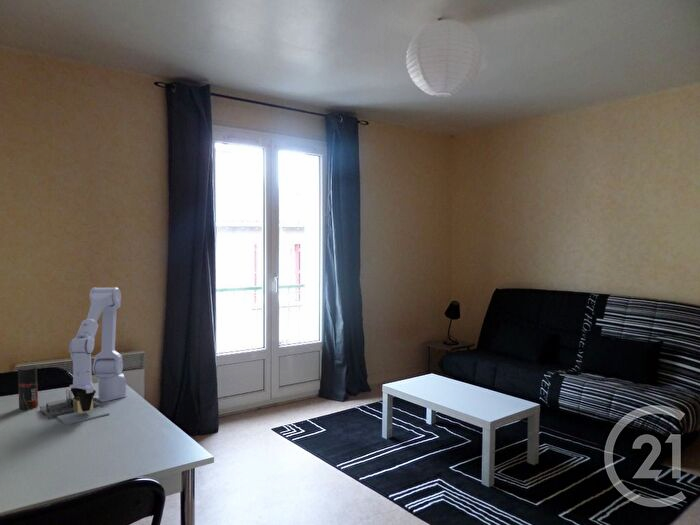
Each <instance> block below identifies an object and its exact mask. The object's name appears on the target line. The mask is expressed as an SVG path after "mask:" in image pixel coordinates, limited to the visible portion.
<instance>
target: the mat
mask: <svg viewBox="0 0 700 525" xmlns="http://www.w3.org/2000/svg"><path fill="white" fill-rule="evenodd" d="M106 416H110V412H109V411H107V410H106V409H104V408H102V407H101V406H98V407H95V408H93V410H91V411H87V412H83V413H76V412H74V413H70V414H65V415H61V416H57V417H56V418H57V419H58V420H59V421H60V422H61V423H63V425H65V426H69V425H73V424H77V423H80V422H81V423H82V422H85V421H91V420H93V419H97V418H102V417H106Z"/></svg>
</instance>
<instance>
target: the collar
mask: <svg viewBox="0 0 700 525" xmlns="http://www.w3.org/2000/svg"><path fill="white" fill-rule="evenodd" d="M73 397H74V396H73ZM73 397H72V398H73ZM73 410H74V411H75V412H76V413H83V411H82V407H81V401H80V398H79V397H74V398H73ZM91 410H93V399H92V402H91V407H90V410H89V411H91ZM84 412H87V411H84Z"/></svg>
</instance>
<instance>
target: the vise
mask: <svg viewBox="0 0 700 525" xmlns="http://www.w3.org/2000/svg"><path fill="white" fill-rule="evenodd" d="M70 389H71V388H70V387H69V388H66V389H65V398H64V399H60V400H54V401H50V402H46V404H45V405H42V406H40V407H39V409H40V412H41V413H42V412H43V413H44V414H43V413H42V414H43V415H45V416H46V417H47V418H48V419H49V420H51V419H56V418H57V416H61V415H65V414H70V413H74V412H75V411H74V410H73V398H74V396H73V393H72V392H71V390H70ZM96 400H97V399H96V398H95V397H93V408H95V407H99V403H98V402H97V401H96Z"/></svg>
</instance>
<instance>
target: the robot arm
mask: <svg viewBox="0 0 700 525" xmlns="http://www.w3.org/2000/svg"><path fill="white" fill-rule="evenodd" d="M89 302H90V306H89V310H88V313H87V316H86V318H85V319H84V320H82V321H81V323H80V325H79V329H78V331H77V333H76V335H75V337H73V338H72V339H71V340H70V341H69V344H68V351H69V353H70V359H72V378H73V379H72V384H69V388H71V389H70V390H71V392H72V396H73V397H79V398H80V401H81V407H82V411H83V412H84V411H89V410H90V407H91V402H92V399H93V398H95V399H96V400H98V401H100V402H101V403H104V402H109V401H112V400H117V399H121V398H126V397H127V396H128V395H127V392H126V391H127V390H126V389H127V384H126V383H127V382H126V377H125V375H124V373H122V372H123V369H124V362H123V355H122V354H121V353H119V352H118V351H117V350H116V337H117V336H116V333H117V312H118V311H117V310H118V309H120V308H121V304H122V292H121V290H120V288H119V287H118V286H115V287H96V286H95V287H92V288H91V289H90V291H89ZM101 315H102V324H101V325H102V326H101V346H100V348H101V349H100V352H99V353H97V354H95V356H94V358H93V359H94V360H93V362H92V353H93V351H94V349H95V341H96V338H95V336H96V334H97V331H98V328H99V325H100V324H98V320H99V318H100V317H101ZM92 363H93V364H92ZM92 372H93V374H94V375H95V376H96V378H97V387H98V395H95V394H96V392H97V391H96V389H94V387H93V378H92V375H93V374H92Z"/></svg>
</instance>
